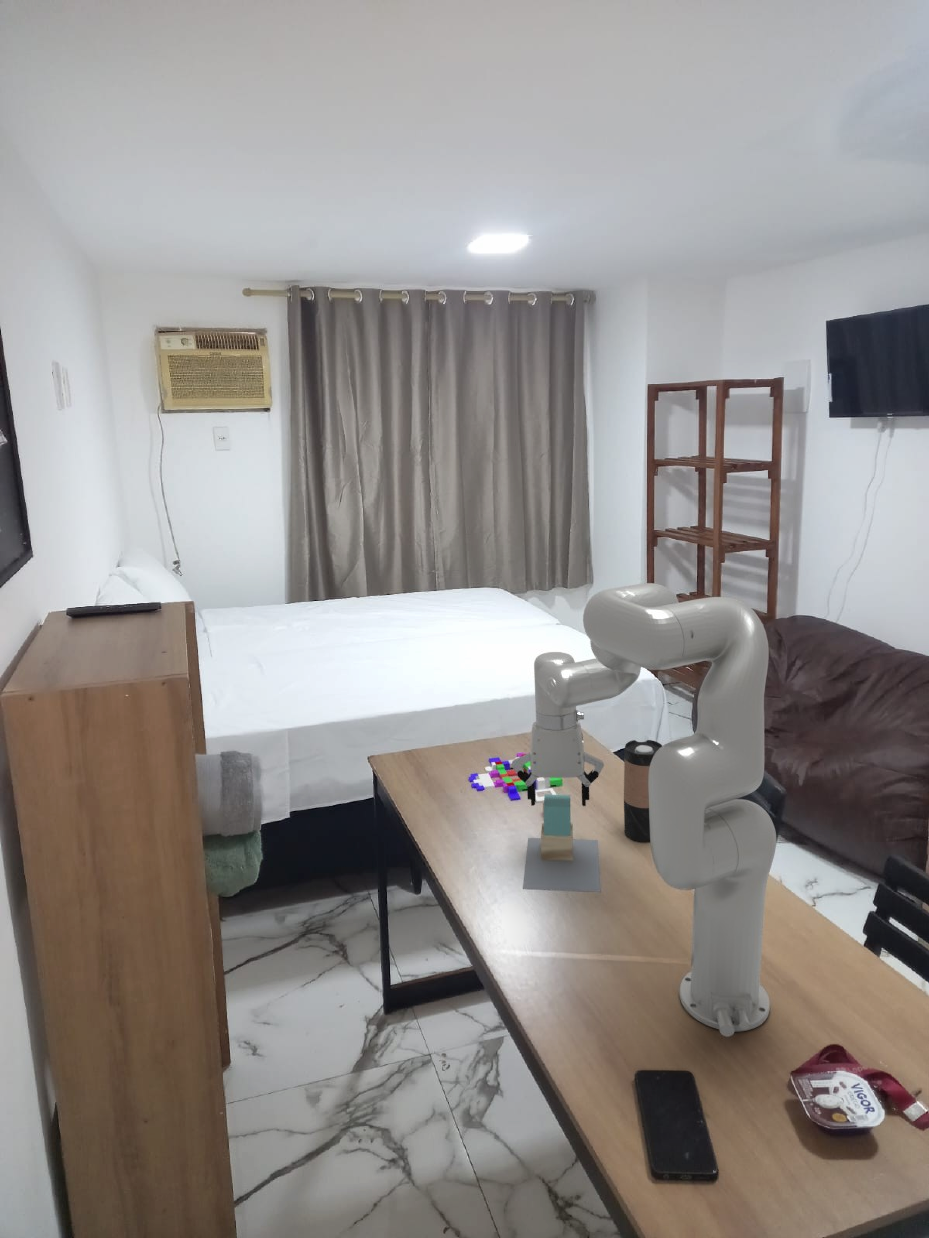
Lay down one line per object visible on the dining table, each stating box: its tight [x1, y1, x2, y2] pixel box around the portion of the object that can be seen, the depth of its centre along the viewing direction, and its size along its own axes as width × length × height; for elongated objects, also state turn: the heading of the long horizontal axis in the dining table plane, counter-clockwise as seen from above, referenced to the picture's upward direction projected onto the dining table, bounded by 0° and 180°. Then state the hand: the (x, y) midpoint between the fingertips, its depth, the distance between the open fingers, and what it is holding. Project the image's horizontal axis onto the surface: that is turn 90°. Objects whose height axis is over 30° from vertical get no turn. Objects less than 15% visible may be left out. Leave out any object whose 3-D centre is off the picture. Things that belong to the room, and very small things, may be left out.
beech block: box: [540, 820, 574, 861], centre depth 158 cm, size 6×6×5 cm
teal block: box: [543, 794, 572, 836], centre depth 156 cm, size 5×5×6 cm
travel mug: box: [623, 739, 663, 844], centre depth 161 cm, size 8×8×20 cm
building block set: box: [467, 752, 564, 804], centre depth 191 cm, size 25×20×4 cm
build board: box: [522, 837, 602, 893], centre depth 154 cm, size 18×14×1 cm
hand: (558, 802), depth 155 cm, fingers open, 9 cm apart
